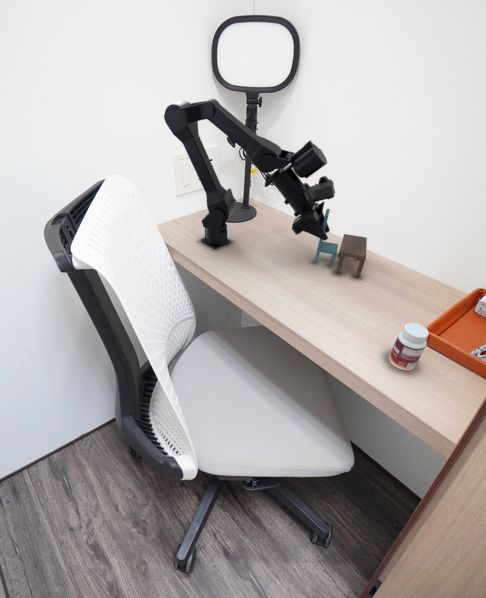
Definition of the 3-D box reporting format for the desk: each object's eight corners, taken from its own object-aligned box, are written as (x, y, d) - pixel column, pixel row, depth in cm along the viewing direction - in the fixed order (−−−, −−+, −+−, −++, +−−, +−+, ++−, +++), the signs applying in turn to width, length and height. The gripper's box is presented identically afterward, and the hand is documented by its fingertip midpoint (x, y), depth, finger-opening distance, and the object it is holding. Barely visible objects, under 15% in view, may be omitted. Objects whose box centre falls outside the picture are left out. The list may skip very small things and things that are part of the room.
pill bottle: (388, 350, 72) (402, 318, 67) (414, 356, 71) (430, 324, 66) (388, 367, 69) (402, 334, 64) (415, 374, 68) (432, 341, 62)
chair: (314, 261, 98) (324, 215, 90) (316, 253, 102) (326, 208, 94) (333, 265, 97) (345, 218, 89) (334, 256, 101) (346, 211, 93)
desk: (335, 273, 95) (341, 252, 91) (338, 254, 103) (343, 233, 99) (359, 278, 93) (366, 256, 89) (360, 258, 102) (366, 237, 98)
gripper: (314, 181, 80) (354, 235, 84) (323, 158, 94) (356, 205, 98) (275, 209, 87) (313, 258, 90) (289, 184, 101) (321, 227, 104)
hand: (327, 235), depth 95 cm, fingers closed on chair, 4 cm apart
